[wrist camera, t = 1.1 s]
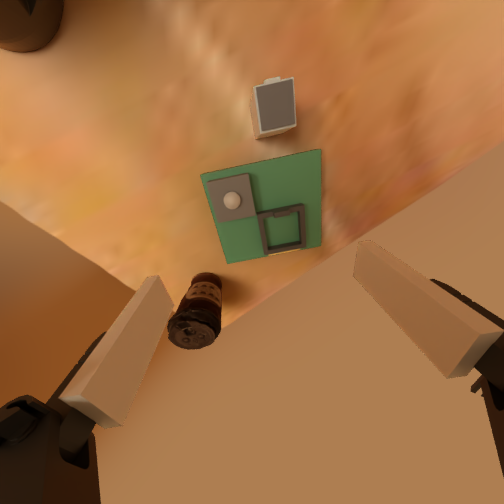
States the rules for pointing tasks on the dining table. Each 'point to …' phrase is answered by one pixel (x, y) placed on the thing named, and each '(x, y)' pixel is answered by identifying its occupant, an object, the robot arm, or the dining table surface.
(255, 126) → the plug
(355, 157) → the dining table surface
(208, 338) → the coffee cup
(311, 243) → the board
